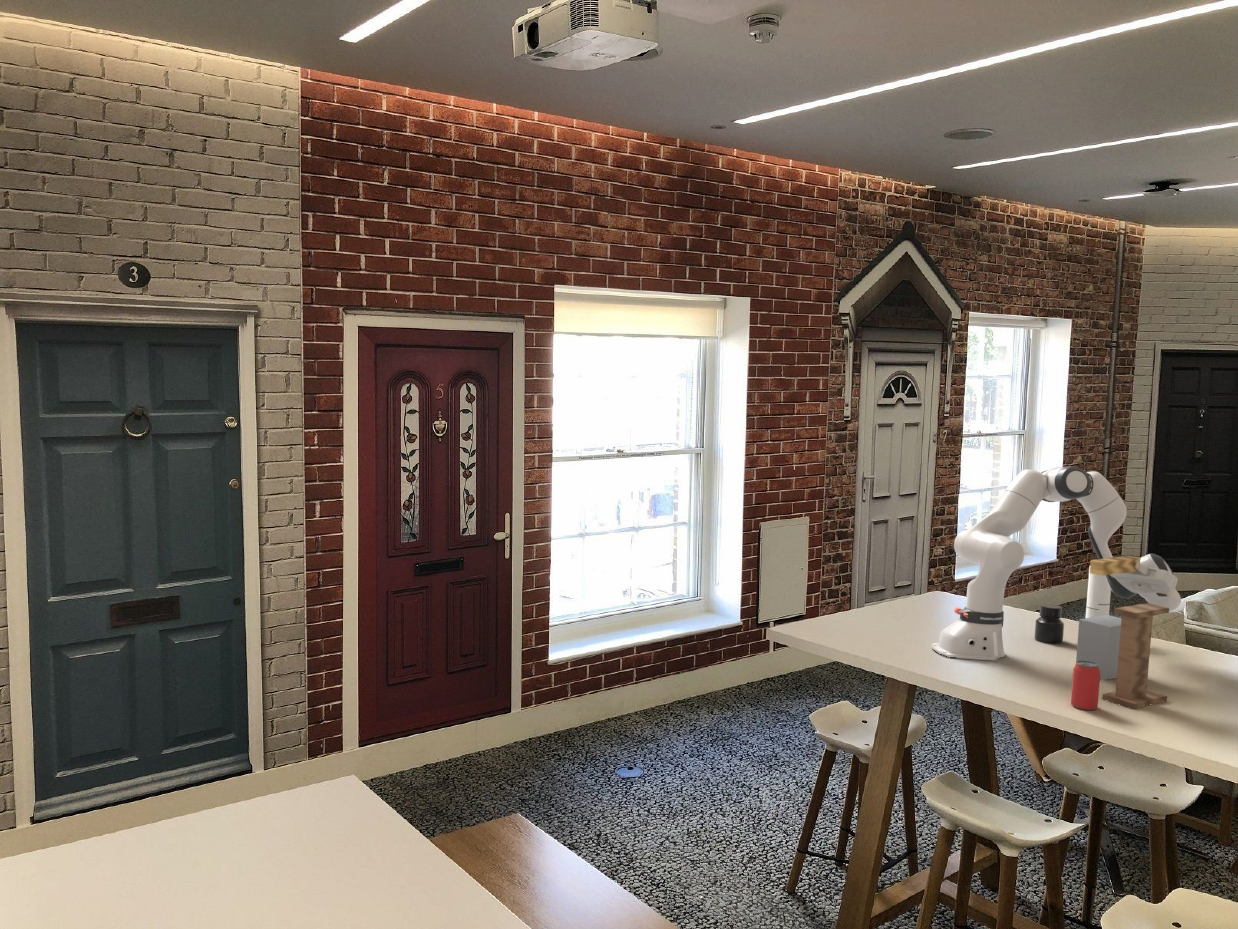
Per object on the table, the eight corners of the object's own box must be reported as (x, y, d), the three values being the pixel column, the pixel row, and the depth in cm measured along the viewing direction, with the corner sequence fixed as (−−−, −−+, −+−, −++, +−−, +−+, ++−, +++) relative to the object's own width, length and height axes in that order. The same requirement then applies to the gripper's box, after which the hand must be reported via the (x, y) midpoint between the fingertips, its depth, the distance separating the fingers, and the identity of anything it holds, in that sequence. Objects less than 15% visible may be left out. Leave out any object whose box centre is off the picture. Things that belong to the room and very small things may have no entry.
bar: (1127, 568, 302) (1128, 555, 301) (1139, 571, 298) (1140, 558, 298) (1089, 573, 292) (1090, 560, 292) (1102, 575, 289) (1103, 562, 288)
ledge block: (1102, 665, 305) (1106, 614, 304) (1133, 674, 297) (1137, 622, 296) (1075, 670, 298) (1079, 619, 297) (1106, 680, 290) (1110, 627, 288)
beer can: (1065, 702, 267) (1069, 659, 266) (1088, 702, 268) (1092, 660, 267) (1079, 711, 261) (1082, 667, 260) (1102, 711, 261) (1106, 667, 260)
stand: (1135, 691, 279) (1142, 602, 277) (1166, 700, 272) (1174, 608, 270) (1102, 699, 271) (1109, 607, 269) (1133, 709, 263) (1141, 614, 261)
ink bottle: (1069, 643, 331) (1072, 608, 330) (1051, 645, 327) (1053, 610, 326) (1045, 636, 340) (1048, 602, 339) (1027, 638, 336) (1030, 604, 335)
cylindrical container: (1109, 641, 335) (1115, 569, 333) (1087, 640, 336) (1092, 568, 334) (1103, 636, 342) (1109, 566, 340) (1081, 634, 343) (1087, 564, 341)
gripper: (1119, 567, 314) (1098, 548, 307) (1183, 579, 297) (1163, 559, 290) (1112, 584, 313) (1091, 565, 306) (1176, 598, 296) (1155, 578, 289)
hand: (1126, 562), depth 298 cm, fingers closed on bar, 4 cm apart
